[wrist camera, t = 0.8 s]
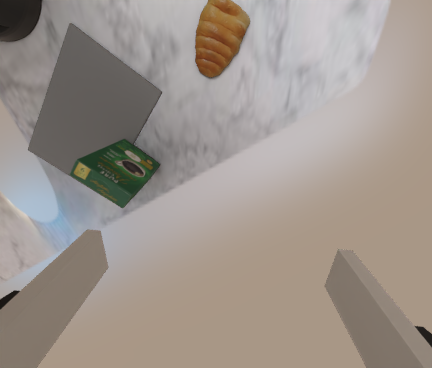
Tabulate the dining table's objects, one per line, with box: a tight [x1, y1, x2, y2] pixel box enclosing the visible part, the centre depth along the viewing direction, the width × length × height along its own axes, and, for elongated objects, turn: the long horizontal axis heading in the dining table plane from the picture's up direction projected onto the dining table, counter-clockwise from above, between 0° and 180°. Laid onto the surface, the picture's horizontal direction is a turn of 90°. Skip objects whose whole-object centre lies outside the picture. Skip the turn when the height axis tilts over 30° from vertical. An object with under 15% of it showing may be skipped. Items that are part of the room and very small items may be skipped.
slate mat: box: [28, 23, 162, 192], centre depth 36 cm, size 16×24×1 cm, turn 144°
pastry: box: [195, 0, 250, 77], centre depth 28 cm, size 9×7×4 cm
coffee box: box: [70, 139, 160, 208], centre depth 31 cm, size 8×3×13 cm, turn 51°
